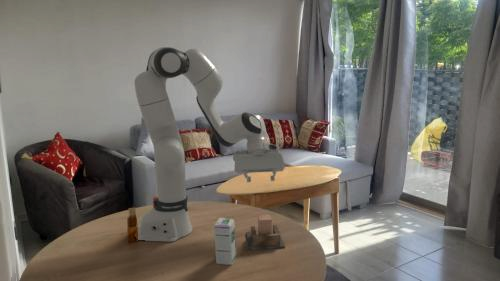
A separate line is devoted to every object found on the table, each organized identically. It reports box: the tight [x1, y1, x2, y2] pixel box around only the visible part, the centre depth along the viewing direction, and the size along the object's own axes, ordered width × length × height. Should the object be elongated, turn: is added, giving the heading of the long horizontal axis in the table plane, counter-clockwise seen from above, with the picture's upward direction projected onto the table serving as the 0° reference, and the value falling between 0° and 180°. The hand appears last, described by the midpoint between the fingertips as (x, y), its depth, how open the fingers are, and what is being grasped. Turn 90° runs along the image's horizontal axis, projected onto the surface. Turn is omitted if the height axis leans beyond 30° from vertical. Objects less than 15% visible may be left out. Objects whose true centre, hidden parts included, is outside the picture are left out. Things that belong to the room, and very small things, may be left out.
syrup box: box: [213, 217, 237, 266], centre depth 132 cm, size 6×6×14 cm
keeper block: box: [257, 214, 273, 235], centre depth 145 cm, size 4×4×9 cm
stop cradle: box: [245, 224, 286, 251], centre depth 146 cm, size 13×13×5 cm
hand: (260, 181), depth 153 cm, fingers open, 8 cm apart
